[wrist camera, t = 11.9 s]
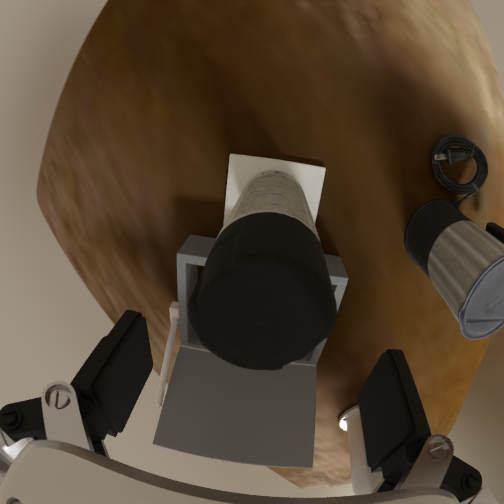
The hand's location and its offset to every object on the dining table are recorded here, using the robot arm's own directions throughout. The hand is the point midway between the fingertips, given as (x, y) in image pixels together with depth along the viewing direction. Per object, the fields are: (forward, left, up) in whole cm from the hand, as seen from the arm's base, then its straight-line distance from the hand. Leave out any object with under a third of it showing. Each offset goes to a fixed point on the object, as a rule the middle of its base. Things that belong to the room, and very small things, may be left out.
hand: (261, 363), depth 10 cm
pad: (0, 0, -22) cm, 22 cm away
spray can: (0, 0, -22) cm, 22 cm away
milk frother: (-20, -4, -23) cm, 31 cm away
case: (+1, +15, -22) cm, 27 cm away
